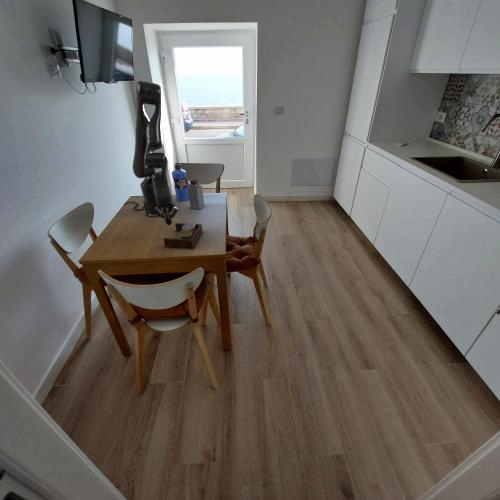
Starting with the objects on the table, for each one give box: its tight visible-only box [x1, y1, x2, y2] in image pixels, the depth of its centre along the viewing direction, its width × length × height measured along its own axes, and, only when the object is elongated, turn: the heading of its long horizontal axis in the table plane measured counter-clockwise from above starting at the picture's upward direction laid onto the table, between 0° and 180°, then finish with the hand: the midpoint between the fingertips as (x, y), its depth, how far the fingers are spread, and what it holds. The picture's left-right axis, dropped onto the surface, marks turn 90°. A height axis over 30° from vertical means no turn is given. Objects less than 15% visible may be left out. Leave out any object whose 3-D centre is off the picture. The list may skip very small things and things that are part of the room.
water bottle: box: [171, 162, 189, 202], centre depth 184 cm, size 9×9×25 cm
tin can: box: [182, 223, 196, 237], centre depth 147 cm, size 7×7×6 cm
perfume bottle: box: [187, 178, 205, 210], centre depth 174 cm, size 7×7×18 cm
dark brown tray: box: [163, 222, 204, 250], centre depth 144 cm, size 15×17×5 cm
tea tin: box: [179, 229, 192, 240], centre depth 140 cm, size 6×6×7 cm
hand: (169, 224), depth 145 cm, fingers closed
